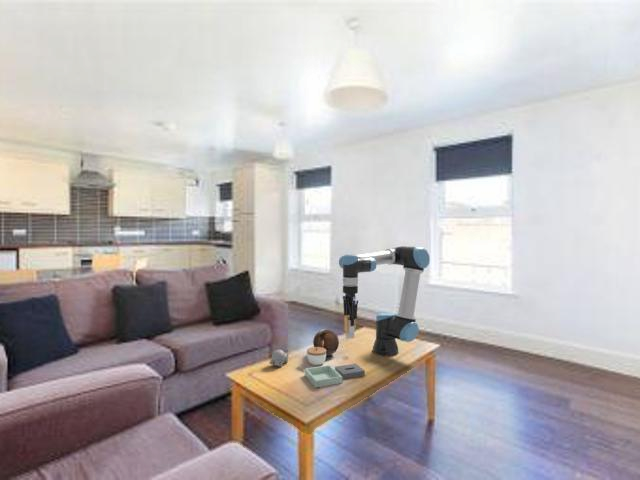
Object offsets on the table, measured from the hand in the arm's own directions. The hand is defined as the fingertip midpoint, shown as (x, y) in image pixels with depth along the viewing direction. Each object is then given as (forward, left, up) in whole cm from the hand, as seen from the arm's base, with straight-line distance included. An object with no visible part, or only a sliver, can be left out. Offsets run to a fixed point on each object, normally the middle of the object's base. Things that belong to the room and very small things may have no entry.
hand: (350, 331), depth 184 cm
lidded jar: (+11, -19, -23) cm, 32 cm away
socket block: (0, 0, -22) cm, 22 cm away
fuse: (0, 0, -4) cm, 4 cm away
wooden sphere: (+1, -30, -23) cm, 38 cm away
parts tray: (+15, +1, -22) cm, 27 cm away
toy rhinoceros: (+30, -24, -23) cm, 45 cm away
